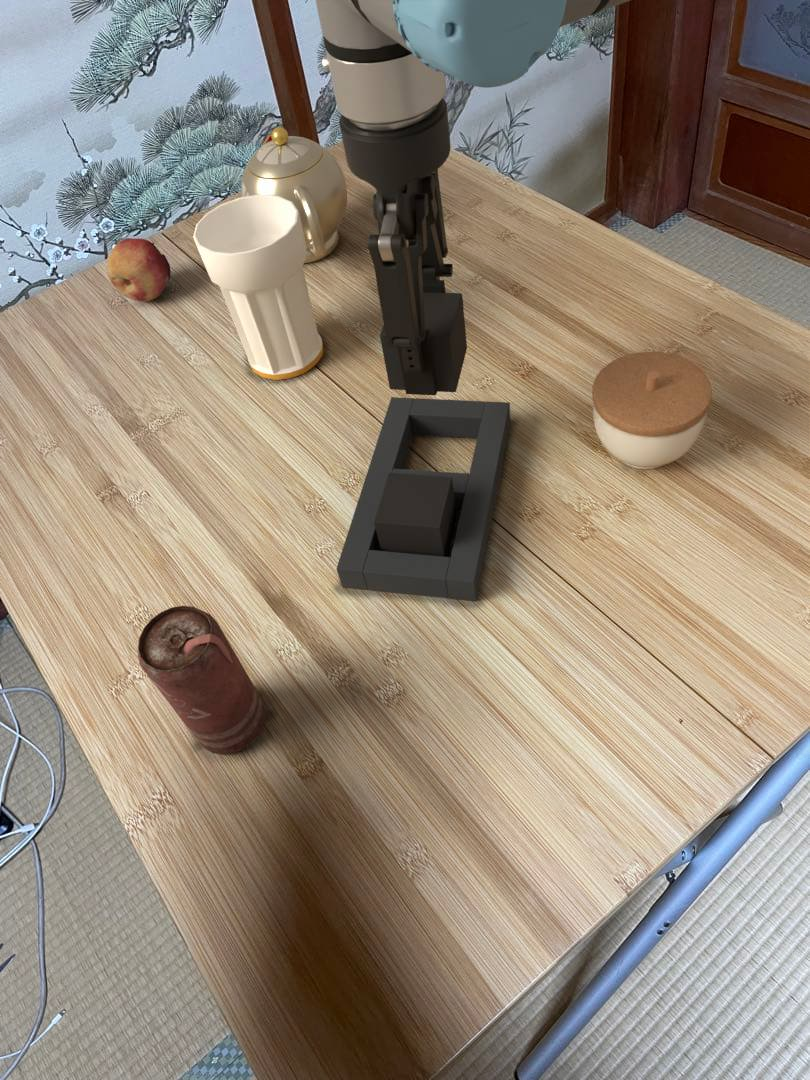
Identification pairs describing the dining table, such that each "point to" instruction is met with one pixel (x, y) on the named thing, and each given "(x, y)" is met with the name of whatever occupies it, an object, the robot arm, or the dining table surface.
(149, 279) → the fruit
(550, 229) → the dining table surface
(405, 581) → the base frame
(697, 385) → the trinket box
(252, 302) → the cup
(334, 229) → the teapot
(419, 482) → the dark grey cube
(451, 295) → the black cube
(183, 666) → the can
